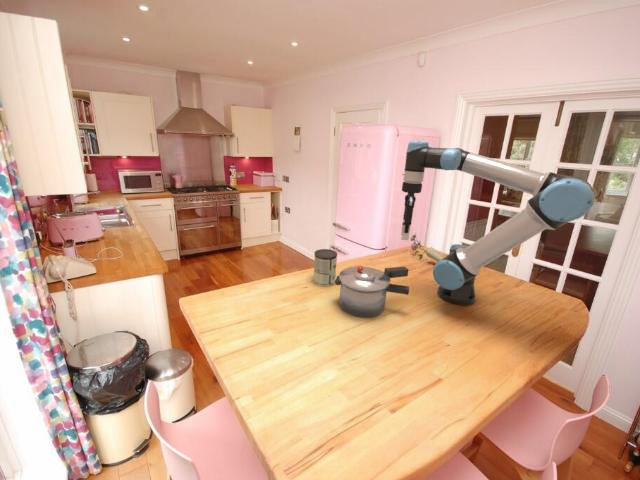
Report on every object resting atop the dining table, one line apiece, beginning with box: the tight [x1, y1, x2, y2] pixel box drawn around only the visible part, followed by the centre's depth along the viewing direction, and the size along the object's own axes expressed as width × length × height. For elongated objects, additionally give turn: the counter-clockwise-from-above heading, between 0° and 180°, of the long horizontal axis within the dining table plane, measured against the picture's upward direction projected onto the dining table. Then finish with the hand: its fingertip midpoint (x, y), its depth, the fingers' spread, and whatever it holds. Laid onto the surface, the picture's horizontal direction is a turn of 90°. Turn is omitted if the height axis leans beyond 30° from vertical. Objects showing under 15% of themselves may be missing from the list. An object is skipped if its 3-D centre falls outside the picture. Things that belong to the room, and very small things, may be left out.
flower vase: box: [410, 233, 445, 263], centre depth 165 cm, size 12×12×35 cm
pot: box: [334, 275, 410, 319], centre depth 118 cm, size 28×18×11 cm, turn 77°
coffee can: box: [313, 248, 338, 287], centre depth 136 cm, size 10×10×14 cm
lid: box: [338, 265, 409, 292], centre depth 117 cm, size 28×20×5 cm
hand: (404, 237), depth 126 cm, fingers open, 6 cm apart
